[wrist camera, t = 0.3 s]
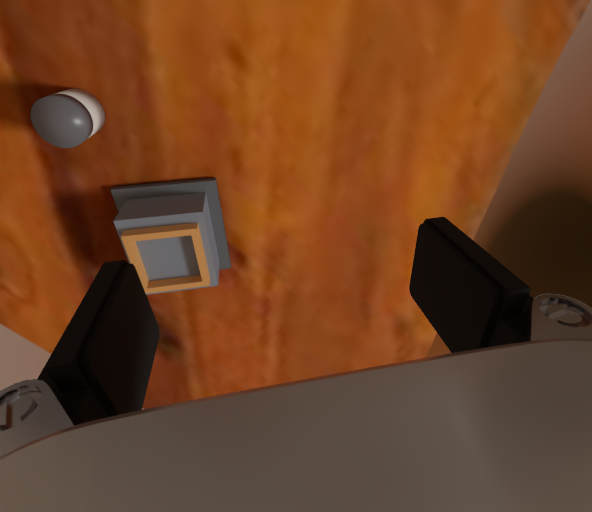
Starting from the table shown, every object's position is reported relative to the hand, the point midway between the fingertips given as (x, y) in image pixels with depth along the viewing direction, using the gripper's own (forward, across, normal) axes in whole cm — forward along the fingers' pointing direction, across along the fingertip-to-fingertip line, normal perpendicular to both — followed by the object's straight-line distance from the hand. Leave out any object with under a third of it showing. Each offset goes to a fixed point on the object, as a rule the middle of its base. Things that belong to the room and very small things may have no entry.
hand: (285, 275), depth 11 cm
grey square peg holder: (+35, +12, +15) cm, 40 cm away
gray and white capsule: (+35, +18, -1) cm, 40 cm away
